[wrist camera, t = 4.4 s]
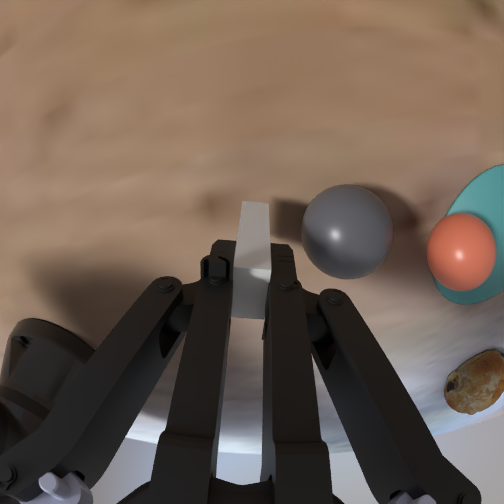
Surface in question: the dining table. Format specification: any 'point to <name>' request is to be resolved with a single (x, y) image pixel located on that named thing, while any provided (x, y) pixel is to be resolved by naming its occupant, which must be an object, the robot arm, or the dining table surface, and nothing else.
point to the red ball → (461, 251)
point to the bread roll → (476, 383)
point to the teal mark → (497, 219)
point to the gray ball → (347, 231)
